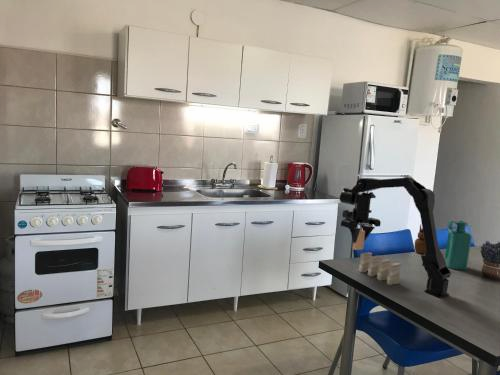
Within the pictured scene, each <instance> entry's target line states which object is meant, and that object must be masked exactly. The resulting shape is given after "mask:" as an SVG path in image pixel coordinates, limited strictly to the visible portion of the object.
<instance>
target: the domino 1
mask: <svg viewBox="0 0 500 375" xmlns="http://www.w3.org/2000/svg"><path fill="white" fill-rule="evenodd" d="M364 239H365V231H363V230H361V229H360V232H359V235H358V238H357V241H356V243H354V242H353V241H352V250H354V251H358V250H364V246H365V242H364Z"/></svg>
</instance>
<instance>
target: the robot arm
mask: <svg viewBox="0 0 500 375" xmlns="http://www.w3.org/2000/svg"><path fill="white" fill-rule="evenodd" d="M400 187H401V188H402V187H403V189H405V190H406V192H407V193H408V195H409V196H411V197H412V198H413V199H412V200H413V203H414V205H415V207H416V209H417V210H418V212H419V216H420V222H421V228H423V235H424V241H425V247H426V252H425V254H420V257H421V260H422V263H421V264H422V265H421V266H422V267H424V270H425V271H426V274H427V282H426V289H424V290H423V291H424V292H425V293H428V294H429V295H432V296H435V297H437V298H444V297H447V296H450V293H448V287H449V278H450V277H451V276H452V272H451V270H450V268H449V267H447V266H446V262H445V256H444V254H443V252H442V251H441V250H440V247H439V242H438V236H437V229H436V223H435V217H434V216H435V215H434V208H435V205H436V204H435V201H436V200H435V199H436V197H435V192H434V191H433V190H432V189H429V188H426V187H425V186H424V185H423V184H421V183H420V182H418V181H417V180H415V179H414V178H413V176H404V177H395V178H383V179H382V178H375V177H373V178H372V177H360V178H359V179H358V180H357V181H356V184H355V185H354V186H353V187H352V188H348V187H344V188H343V190H342V191H341V193H340V196H339V201H340V203H342V204H347V205H351V206H354V205H355V207H353V208H352V211H349V209H346V210H343V211H342V218H343V219H342V220H341V221H340V226H341V227H344V228H346V229H349V231H350V235H351V239H352V243H353V242H354V243H356V241H357V238H358V235H359V232H360V231H361V229H362V230H363V231H365V239H364V243H365V241H366V240H367V238H369V236H370V234H371V233H372V231H374V230H375V229H376V227H381V220H380V219H378V218H374V217H370V216H369V215H370V213H372V210H371V209H370V208H371V201H372V200H371V199H376V198H377V196H376V195H375V194H374V192H372V191H376V190H378V189H385V188H386V189H387V188H388V189H389V188H400ZM373 225H374V226H373ZM359 226H360V227H361V228H359Z"/></svg>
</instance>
